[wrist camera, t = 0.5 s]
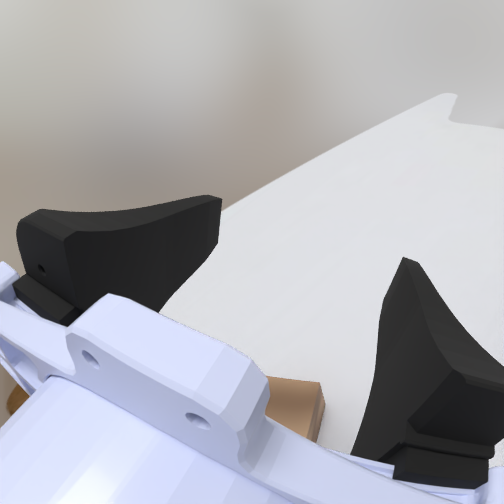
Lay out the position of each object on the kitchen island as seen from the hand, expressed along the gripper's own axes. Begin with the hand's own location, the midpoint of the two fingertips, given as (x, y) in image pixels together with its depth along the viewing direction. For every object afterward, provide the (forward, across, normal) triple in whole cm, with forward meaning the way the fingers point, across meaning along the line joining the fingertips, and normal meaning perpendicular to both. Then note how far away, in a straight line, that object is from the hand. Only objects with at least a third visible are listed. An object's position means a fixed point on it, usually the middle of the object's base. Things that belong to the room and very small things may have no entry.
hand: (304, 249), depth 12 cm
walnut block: (+4, -3, +19) cm, 20 cm away
